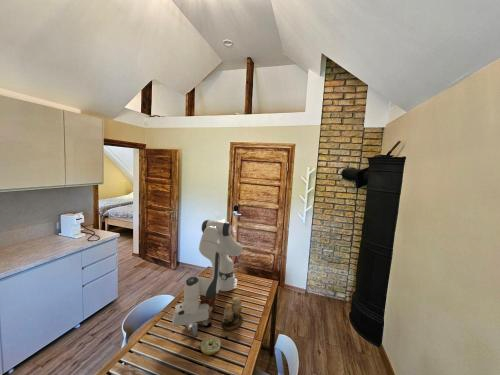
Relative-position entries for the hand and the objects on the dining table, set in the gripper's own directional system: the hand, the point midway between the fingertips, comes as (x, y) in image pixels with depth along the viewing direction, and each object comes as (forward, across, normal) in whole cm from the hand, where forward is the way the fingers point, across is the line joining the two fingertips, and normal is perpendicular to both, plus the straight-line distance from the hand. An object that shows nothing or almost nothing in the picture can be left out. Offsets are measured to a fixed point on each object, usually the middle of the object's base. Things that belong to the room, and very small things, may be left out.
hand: (190, 329), depth 129 cm
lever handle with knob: (+5, -2, -5) cm, 7 cm away
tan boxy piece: (+5, -7, -11) cm, 14 cm away
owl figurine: (+5, -27, -4) cm, 28 cm away
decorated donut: (+6, -9, +12) cm, 16 cm away
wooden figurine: (+5, -15, -21) cm, 26 cm away
